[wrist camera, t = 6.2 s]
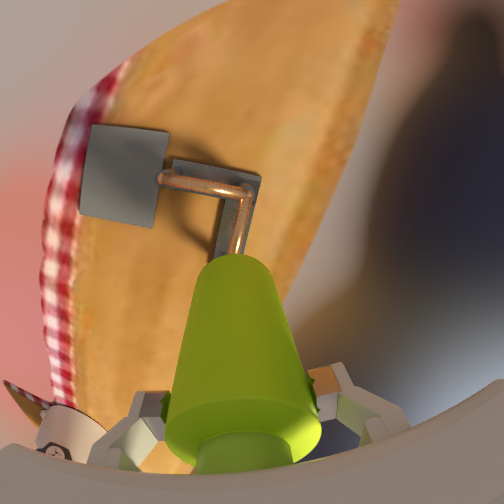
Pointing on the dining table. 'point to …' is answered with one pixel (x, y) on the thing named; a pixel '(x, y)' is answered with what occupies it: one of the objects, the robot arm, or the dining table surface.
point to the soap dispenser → (239, 376)
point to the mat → (122, 174)
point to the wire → (220, 186)
